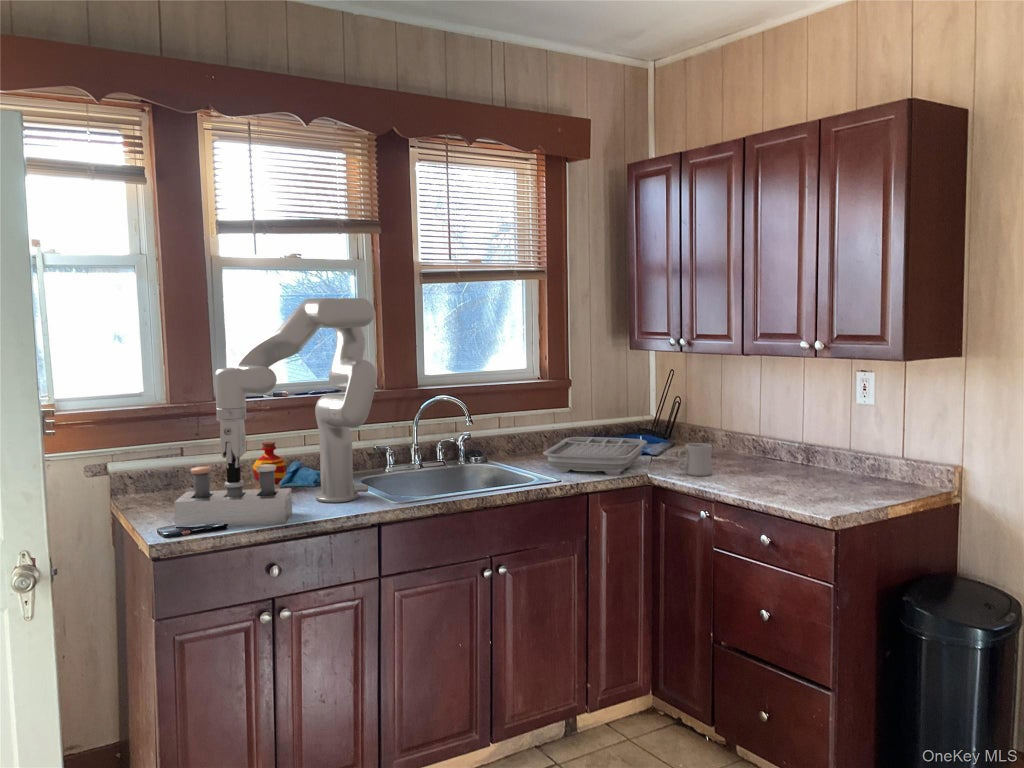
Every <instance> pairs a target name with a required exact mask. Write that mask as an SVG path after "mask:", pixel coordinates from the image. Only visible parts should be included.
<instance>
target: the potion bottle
mask: <svg viewBox="0 0 1024 768" xmlns="http://www.w3.org/2000/svg"><path fill="white" fill-rule="evenodd" d="M261 444H262V447H261V451H264V453H263V454H262V456H261V457H260V458H258V459H257V458H256V460H255V461H254V463H253V466H252V470H253V476H254V479H255V480H256V481H257V482H258V483H259V471H257V466H260V465H276V470H274V478H275V484H276V485H277V486H279V483H281V482H282V480H283V479H284V478H285V477H287V466H286V464H287V463H286V461H285V460H284V459H283V457H282V456H279V455H276V454H275V450H276V449H277V447H276V442H275V441H265V442H262V443H261Z"/></svg>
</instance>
